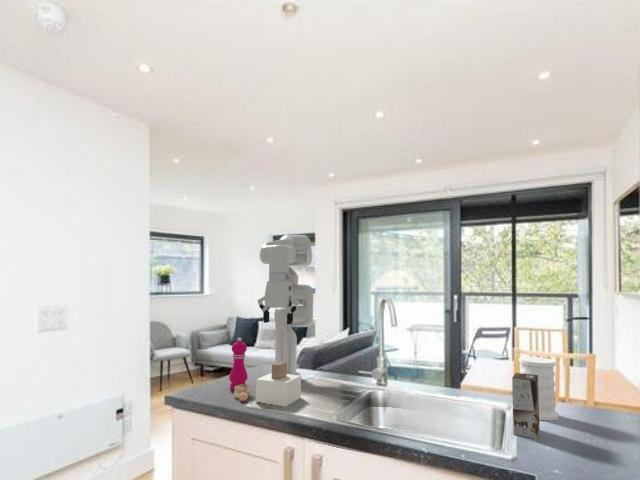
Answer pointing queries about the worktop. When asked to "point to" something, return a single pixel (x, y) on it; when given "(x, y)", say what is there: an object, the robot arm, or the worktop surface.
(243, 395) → the terracotta ball
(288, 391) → the cover
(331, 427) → the worktop surface
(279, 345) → the robot arm
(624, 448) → the worktop surface
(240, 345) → the pepper mill
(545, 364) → the decorative container
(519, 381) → the coffee box
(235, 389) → the pine cube
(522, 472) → the worktop surface
